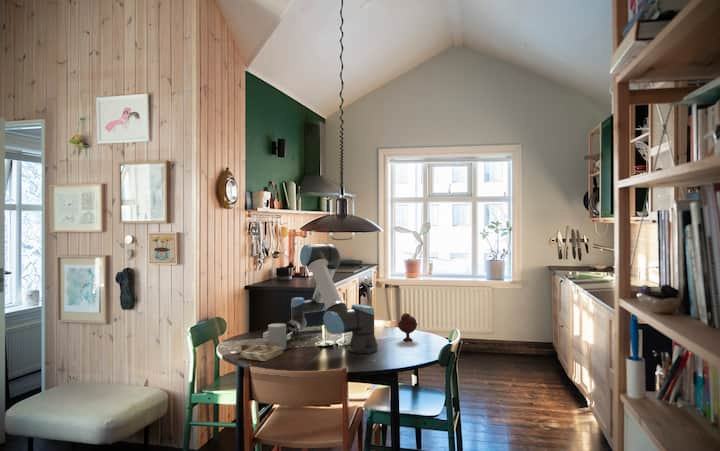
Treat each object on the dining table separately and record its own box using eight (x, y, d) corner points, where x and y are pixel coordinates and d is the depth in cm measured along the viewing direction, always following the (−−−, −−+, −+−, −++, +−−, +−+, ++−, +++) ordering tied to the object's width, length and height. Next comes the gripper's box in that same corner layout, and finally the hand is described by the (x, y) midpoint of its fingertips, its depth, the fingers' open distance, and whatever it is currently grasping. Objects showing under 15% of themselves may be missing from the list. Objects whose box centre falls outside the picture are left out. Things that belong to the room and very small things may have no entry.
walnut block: (251, 350, 253) (251, 343, 253) (248, 352, 249) (248, 345, 249) (243, 350, 253) (243, 343, 253) (241, 352, 249) (241, 345, 249)
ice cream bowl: (396, 342, 266) (396, 315, 266) (400, 337, 277) (399, 311, 277) (416, 343, 263) (415, 315, 263) (418, 338, 274) (418, 312, 274)
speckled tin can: (282, 350, 252) (282, 327, 252) (265, 350, 254) (265, 326, 254) (289, 346, 261) (288, 323, 261) (272, 345, 263) (271, 322, 263)
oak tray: (282, 353, 247) (282, 347, 247) (265, 361, 233) (265, 355, 233) (258, 350, 253) (258, 344, 253) (240, 357, 240) (240, 351, 240)
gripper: (311, 335, 273) (297, 345, 253) (271, 333, 280) (254, 342, 259) (311, 322, 273) (297, 330, 253) (271, 320, 280) (253, 328, 259)
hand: (275, 336), depth 256 cm, fingers open, 13 cm apart
